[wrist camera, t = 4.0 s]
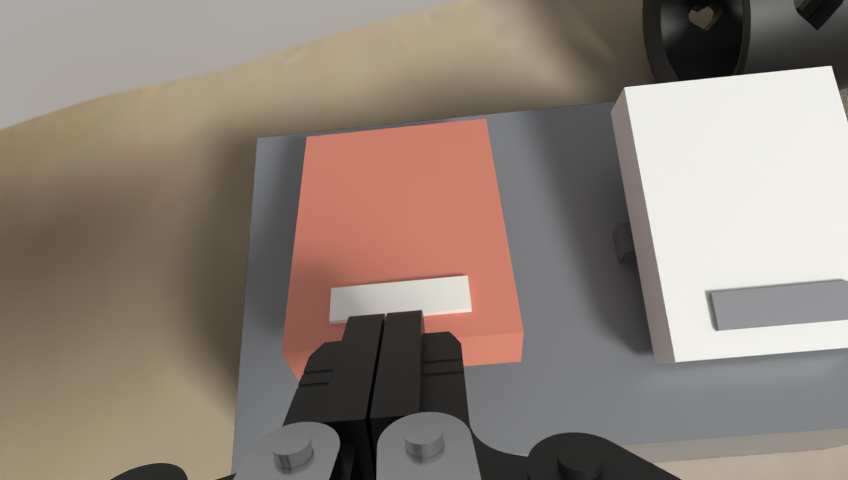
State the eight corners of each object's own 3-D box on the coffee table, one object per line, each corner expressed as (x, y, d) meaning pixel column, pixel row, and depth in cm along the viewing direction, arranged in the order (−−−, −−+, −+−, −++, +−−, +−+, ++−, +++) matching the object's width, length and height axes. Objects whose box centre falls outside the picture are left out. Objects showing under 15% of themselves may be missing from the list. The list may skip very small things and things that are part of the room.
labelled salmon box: (298, 380, 15) (279, 350, 14) (318, 170, 20) (305, 133, 19) (521, 361, 15) (524, 328, 14) (486, 153, 20) (485, 114, 19)
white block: (655, 363, 16) (677, 361, 15) (610, 112, 18) (625, 84, 17) (868, 346, 16) (916, 342, 15) (799, 92, 18) (834, 62, 16)
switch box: (304, 489, 24) (218, 473, 16) (310, 232, 29) (249, 123, 21) (822, 449, 23) (1011, 412, 15) (731, 192, 28) (833, 62, 20)
